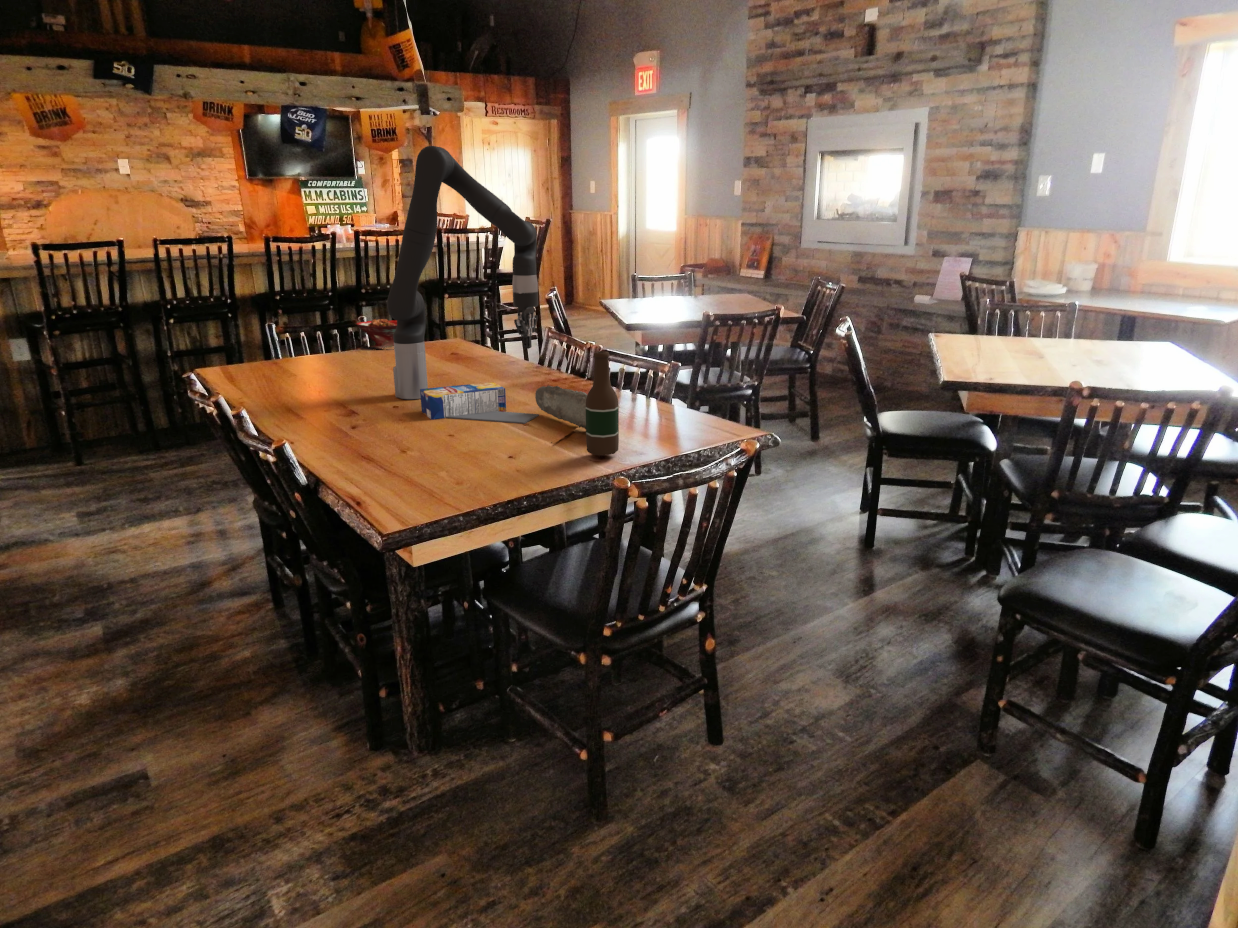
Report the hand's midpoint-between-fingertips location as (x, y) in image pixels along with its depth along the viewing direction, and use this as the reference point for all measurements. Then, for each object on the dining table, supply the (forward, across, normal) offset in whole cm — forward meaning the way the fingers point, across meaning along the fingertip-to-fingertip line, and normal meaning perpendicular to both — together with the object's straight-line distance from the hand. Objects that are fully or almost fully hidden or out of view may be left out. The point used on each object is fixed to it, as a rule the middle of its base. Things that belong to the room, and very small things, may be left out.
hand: (527, 348), depth 252 cm
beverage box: (+12, +15, -3) cm, 19 cm away
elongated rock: (+16, +28, +25) cm, 41 cm away
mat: (+16, +26, 0) cm, 30 cm away
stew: (+16, -69, -93) cm, 117 cm away
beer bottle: (+16, +51, +41) cm, 67 cm away
